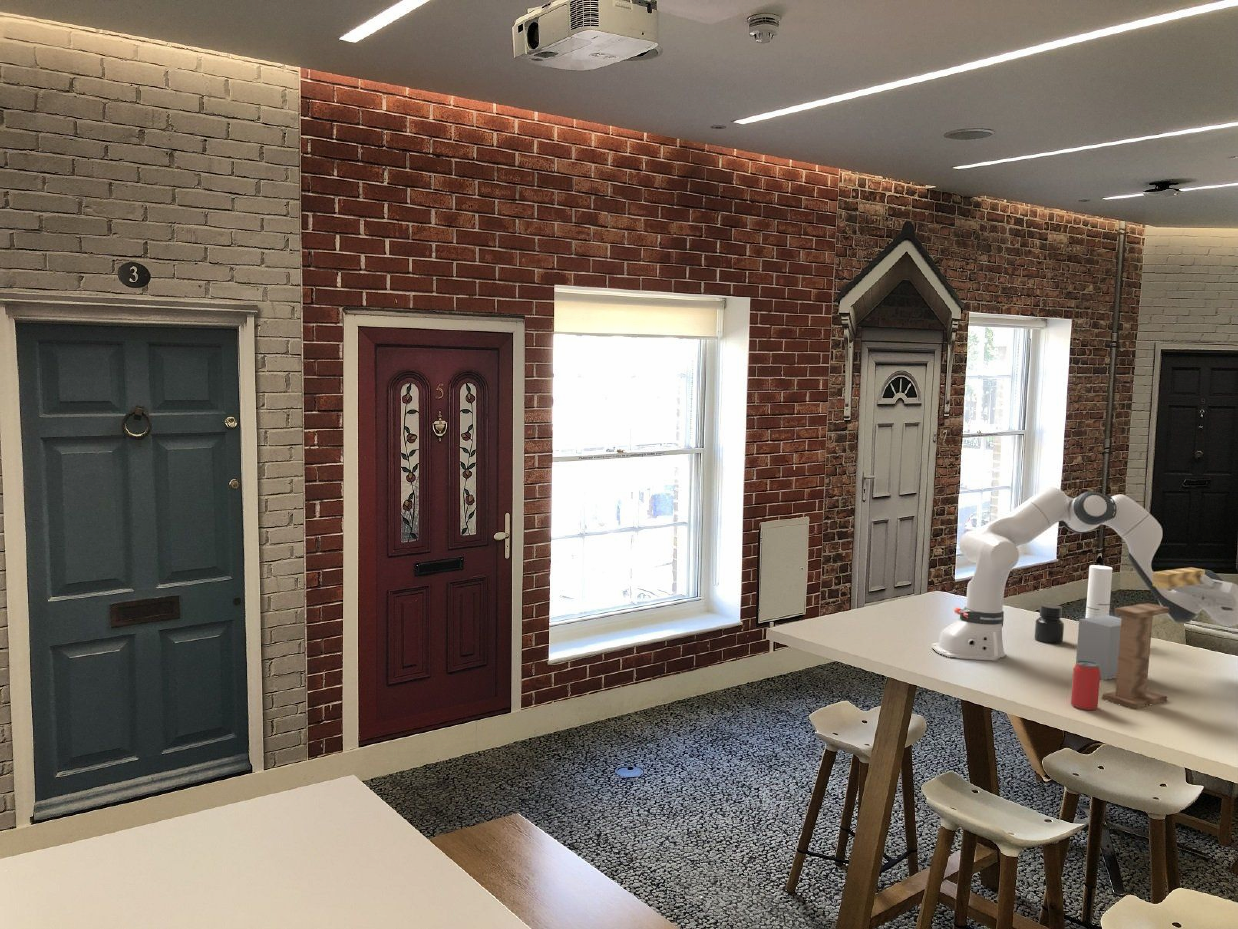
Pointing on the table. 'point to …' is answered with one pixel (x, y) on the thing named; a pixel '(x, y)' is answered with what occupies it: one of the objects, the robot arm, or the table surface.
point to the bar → (1177, 577)
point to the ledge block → (1100, 643)
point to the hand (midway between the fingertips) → (1190, 574)
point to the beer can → (1085, 685)
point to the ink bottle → (1049, 624)
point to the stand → (1135, 657)
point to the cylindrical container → (1098, 591)
